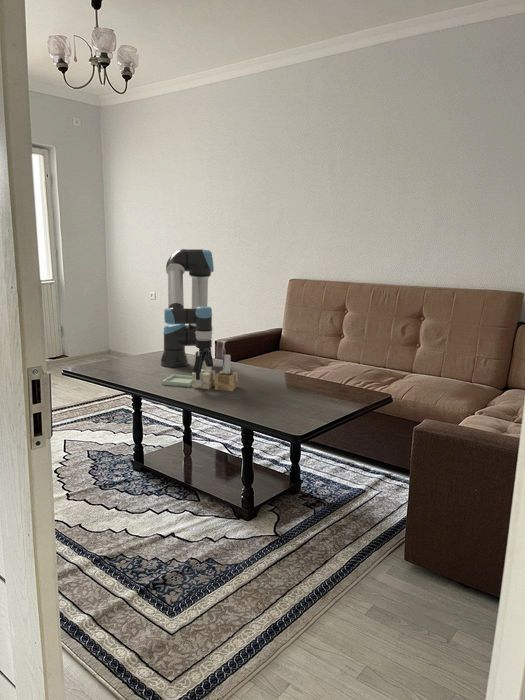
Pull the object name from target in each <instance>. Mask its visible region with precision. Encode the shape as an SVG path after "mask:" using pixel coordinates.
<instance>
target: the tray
mask: <svg viewBox="0 0 525 700" xmlns="http://www.w3.org/2000/svg"><path fill="white" fill-rule="evenodd" d="M161 386H170V387H171V386H172V387H181V388H189V387H192V375H182V374H171V375H170V376H168V377H165V379H162V380H161Z"/></svg>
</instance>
